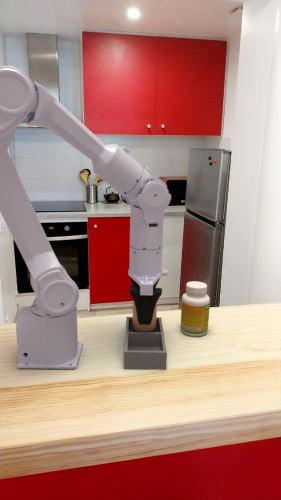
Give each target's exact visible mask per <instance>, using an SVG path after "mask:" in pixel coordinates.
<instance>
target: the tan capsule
mask: <svg viewBox="0 0 281 500" xmlns="http://www.w3.org/2000/svg"><path fill="white" fill-rule="evenodd" d="M157 309H158V302H157V303H156V306H155V309H154V314H153V318H152V322H151V324H150V325H139V323H138V318H137V312H136V307H135V303H134V300H133V301H132V317H133V324H132V331H133V332H156V317H158V316H157V311H158V310H157Z"/></svg>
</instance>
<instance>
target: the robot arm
mask: <svg viewBox="0 0 281 500" xmlns="http://www.w3.org/2000/svg"><path fill="white" fill-rule="evenodd" d="M26 118H28V119H27V122H26V125H28V126H33V127H39V128H45V129H48V130H50V131H52V132H53V133H55V134H56V135H57V136H59V138H61V139H62V140H64V141H65V142H66V143H68V144H69V145H71V147H73V148H74V149H75V150H77V151H79V152H80V154H82V155H84V156H85V157H86V158H88V159H89V160H90V161H91V164H92V170H93V173H94V174H95V175H96V176H97V177H98V178H100V179H101V180H102V181H104V183H106V184H107V185H109V186H110V187H111V188H113V190H115V191H116V192H118V193H119V195H121V196H122V197H124V198H125V201H126V203H127V204H128V205H130V219H129V223H130V224H129V226H130V228H129V268H128V270H127V272H128V273H127V274H128V276H129V280H130V282H131V284H132V285H129V288H128V289H129V290H128V292H129V294H130V296H131V299H132V300H133V301H134V303H135V307H136V312H137V318H138V323H139V325H150V324H151V322H152V318H153V314H154V309H155V306H156V303H157V304H158V302H159V301H158V300H159V299H160V297H161V296H162V294H163V288H162V287H157V286H158V283H159V282H160V280H161V278H162V277H168V276H169V270H168V269H167V268H163V267H162V266H163V242H164V241H163V240H164V239H163V238H164V219H165V211H166V209H167V208H168V206H169V204H170V203H171V200H172V194H170V193H169V189H168V185H167V183H166V182H165V181H163V180H162V179H161V178H159V177H156V176H154V177H152V176H151V169H150V168H149V167H147V166H142V165H141V164H140V163H139V162H138V161H137V160H136V159H135V158H133V157H132V156H131V155H130V154H129V153H130V152H131V150H130V149H129V148H128V147H127V146H126V145H122V146H120V145H118V144H117V143H109V144H105V143H104V142H103V141H102V140H101V139H99V138H98V136H96V135H95V134H94V133H93V132H92V131H91V130H90V128H88V127H87V126H86V125H84V123H83V122H81V120H79V119H78V118H77V117H76V116H75V115H74V114H73V113H72V112H71V111H70V110H68V109H67V108H66V107H65V106H64V105H63V104H62V103H61V102H60V101H59V100H58V99H57V98H56V97H55V96H54V95H52V93H51V92H50V91H49V90H47V89H46V88H45V87H44V86H43V85H41V84H39V83H38V82H36V81H34V82H32V80H31V78H30V77H29V76H28V75H27V74H26V72H24V71H23V70H21V69H19V68H17V67H15V66H11V65H0V215H1V216H2V218H3V220H4V223H5V224H6V227H7V228H8V230H9V232H10V234H11V236H12V238H13V240H14V242H15V244H16V246H17V249H18V250H19V252H20V254H21V257H22V259H23V261H24V262H25V264H26V267H27V269H28V271H29V272H30V275H29V276H30V278H29V279H30V285H31V289H32V290H33V291H34V294H35V297H34V300H33V302H32V304H31V305H28V306H27V305H26V306H21V307H20V309H19V311H18V314H17V317H16V324H15V331H16V333H15V334H16V346H17V347H16V348H17V349H16V350H17V358H18V359H17V362H18V363H17V364H16V367H17V368H18V369H55V370H56V369H60V370H61V369H67V370H68V369H69V370H70V369H71V370H73V369H74V370H75V369H77V367H78V365H79V364H78V363H79V362H80V361H79V360H80V357H81V354H82V349H83V345H84V342H82V341H78V310H77V309H78V308H77V307H78V306H77V305H78V301H79V299H80V291H79V290H80V289H79V287H78V285H77V284H76V282H75V281H74V280H73V279H72V278H71V277H70V276H69V274H68V272H67V269H66V268H65V266H63V265H62V264H61V263H60V261H59V260H58V258H57V256H56V254H55V252H54V249H53V248H52V245H51V243H50V241H49V240H48V237H47V235H46V233H45V230H44V228H43V226H42V224H41V221H40V220H39V218H38V216H37V213H36V210H35V208H34V206H33V205H32V202H31V199H30V198H29V195H28V193H27V191H26V189H25V187H24V184H23V183H22V180H21V178H20V176H19V173H18V171H17V170H16V167H15V164H14V162H13V160H12V158H11V156H10V154H9V151H8V149H9V146H10V144H11V142H12V140H13V138H14V135H15V134H16V130H17V128H18V126H20V124H21V123H22V122H23V121H24V120H25V119H26Z"/></svg>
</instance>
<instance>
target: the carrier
mask: <svg viewBox="0 0 281 500" xmlns="http://www.w3.org/2000/svg"><path fill="white" fill-rule="evenodd" d="M132 324H133V316H126V318H125V330H124V331H125V332H124V333H125V336H124V351H123V353H124V354H123V359H124V360H123V361H124V363H123V368H124V370H167V359H168V351H167V350H168V349H167V345H166V344H167V343H166V338H165V332H164V326H163V319H162V317H159V316H157V317H156V332H133V331H132Z"/></svg>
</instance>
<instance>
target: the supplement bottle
mask: <svg viewBox="0 0 281 500" xmlns="http://www.w3.org/2000/svg"><path fill="white" fill-rule="evenodd" d="M207 292H208V285H207V283H205V282H202V281H196V280H195V281H193V280H192V281H188V282H187V283H186V284H185V293H183V294H182V297H181V312H180V326H179V327H180V331H181V333H182V334H185V335H186V336H189V337H196V338H197V337H203V336H205V335H206V334H208V330H209V319H210V318H209V317H210V307H211V305H210V304H211V299H210V295H208V294H207Z"/></svg>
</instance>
